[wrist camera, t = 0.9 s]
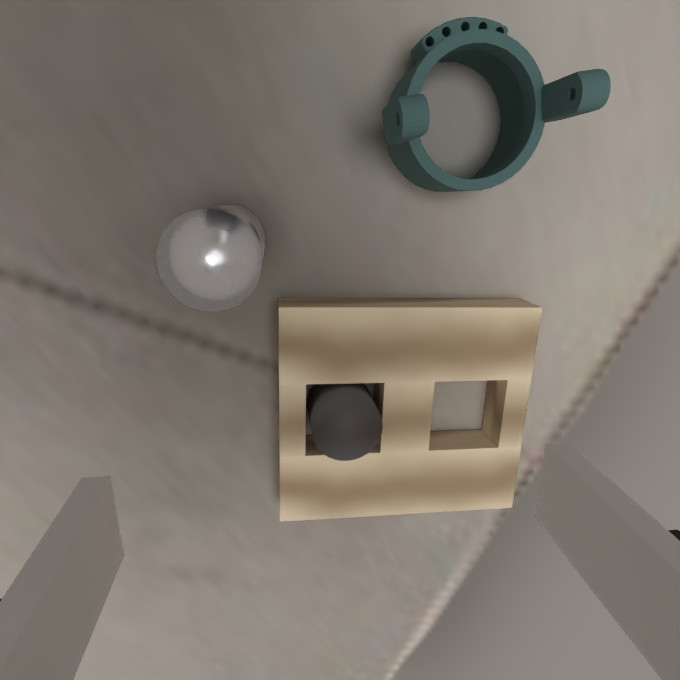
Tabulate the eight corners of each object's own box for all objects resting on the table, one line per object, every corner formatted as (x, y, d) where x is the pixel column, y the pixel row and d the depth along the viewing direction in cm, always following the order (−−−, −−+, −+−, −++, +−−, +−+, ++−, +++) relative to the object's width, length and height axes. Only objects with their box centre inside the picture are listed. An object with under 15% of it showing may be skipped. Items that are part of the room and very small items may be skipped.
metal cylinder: (196, 203, 31) (152, 206, 20) (265, 205, 32) (261, 210, 20) (200, 271, 32) (160, 312, 21) (266, 272, 33) (262, 312, 21)
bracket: (533, 117, 32) (626, 87, 24) (440, 222, 34) (497, 229, 25) (443, 10, 30) (511, -66, 21) (345, 127, 31) (372, 99, 22)
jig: (278, 298, 33) (279, 312, 29) (520, 298, 36) (553, 312, 32) (279, 497, 38) (280, 534, 34) (494, 485, 40) (520, 518, 36)
